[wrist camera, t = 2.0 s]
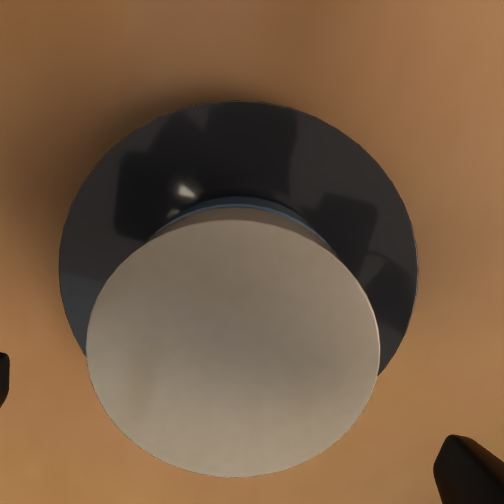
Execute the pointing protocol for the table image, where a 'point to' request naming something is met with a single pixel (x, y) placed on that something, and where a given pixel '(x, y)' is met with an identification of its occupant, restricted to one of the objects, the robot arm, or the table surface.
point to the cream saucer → (233, 344)
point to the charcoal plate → (247, 185)
